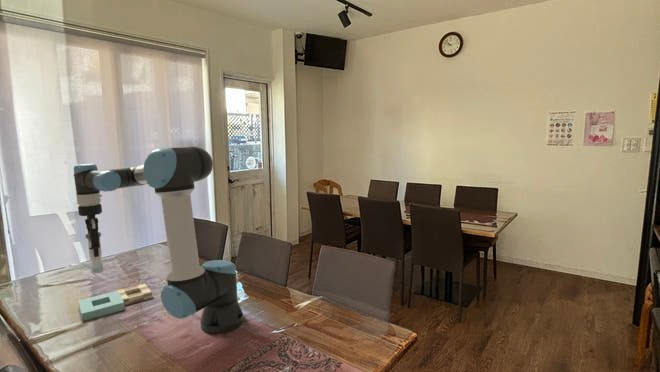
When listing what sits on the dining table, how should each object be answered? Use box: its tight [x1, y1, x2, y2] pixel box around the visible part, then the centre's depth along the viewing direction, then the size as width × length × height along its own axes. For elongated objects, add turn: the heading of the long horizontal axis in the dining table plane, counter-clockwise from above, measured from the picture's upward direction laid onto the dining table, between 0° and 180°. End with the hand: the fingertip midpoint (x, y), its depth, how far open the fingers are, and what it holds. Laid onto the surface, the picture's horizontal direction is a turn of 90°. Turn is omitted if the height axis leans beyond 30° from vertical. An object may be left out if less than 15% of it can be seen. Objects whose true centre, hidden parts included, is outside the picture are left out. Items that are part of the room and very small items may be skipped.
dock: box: [78, 290, 126, 322], centre depth 144 cm, size 14×14×3 cm
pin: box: [85, 231, 104, 274], centre depth 141 cm, size 5×5×15 cm
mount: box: [116, 283, 153, 306], centre depth 154 cm, size 12×12×2 cm
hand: (96, 262), depth 142 cm, fingers closed on pin, 4 cm apart
